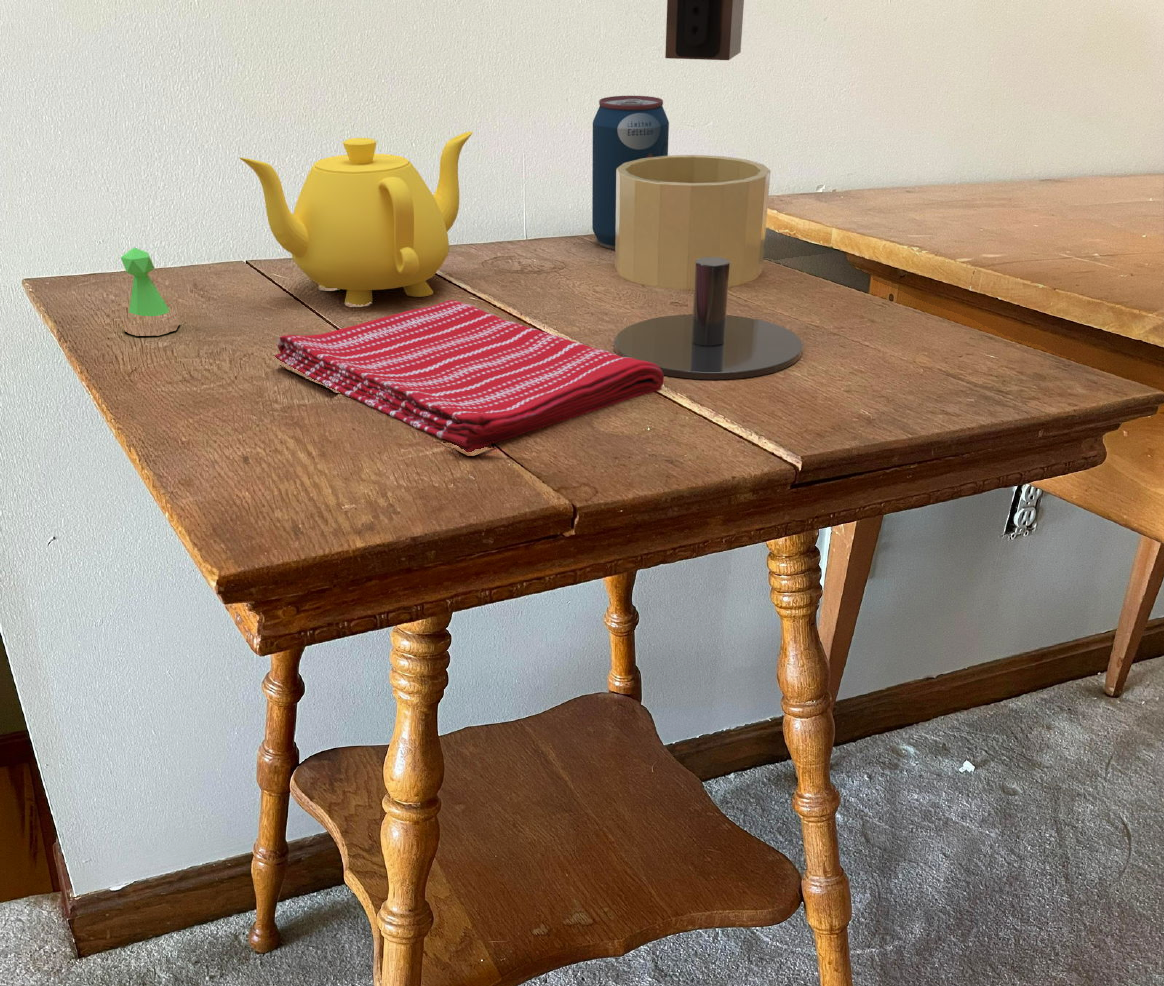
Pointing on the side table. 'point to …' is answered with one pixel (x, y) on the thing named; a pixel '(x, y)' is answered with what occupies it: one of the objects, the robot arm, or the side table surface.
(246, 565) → the side table surface
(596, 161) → the soda can
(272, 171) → the teapot
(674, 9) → the block
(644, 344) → the lid
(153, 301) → the game piece
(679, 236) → the pot
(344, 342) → the dish towel
